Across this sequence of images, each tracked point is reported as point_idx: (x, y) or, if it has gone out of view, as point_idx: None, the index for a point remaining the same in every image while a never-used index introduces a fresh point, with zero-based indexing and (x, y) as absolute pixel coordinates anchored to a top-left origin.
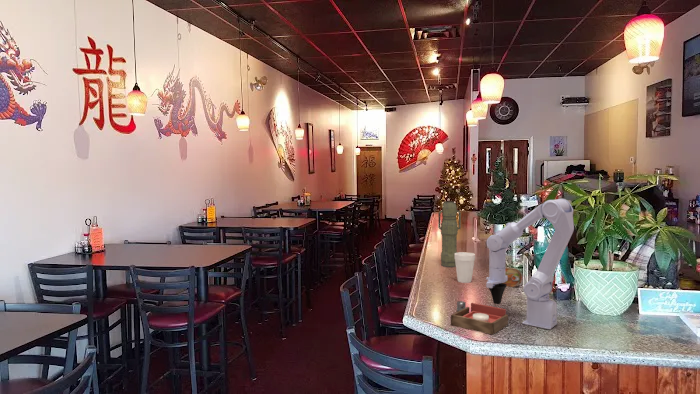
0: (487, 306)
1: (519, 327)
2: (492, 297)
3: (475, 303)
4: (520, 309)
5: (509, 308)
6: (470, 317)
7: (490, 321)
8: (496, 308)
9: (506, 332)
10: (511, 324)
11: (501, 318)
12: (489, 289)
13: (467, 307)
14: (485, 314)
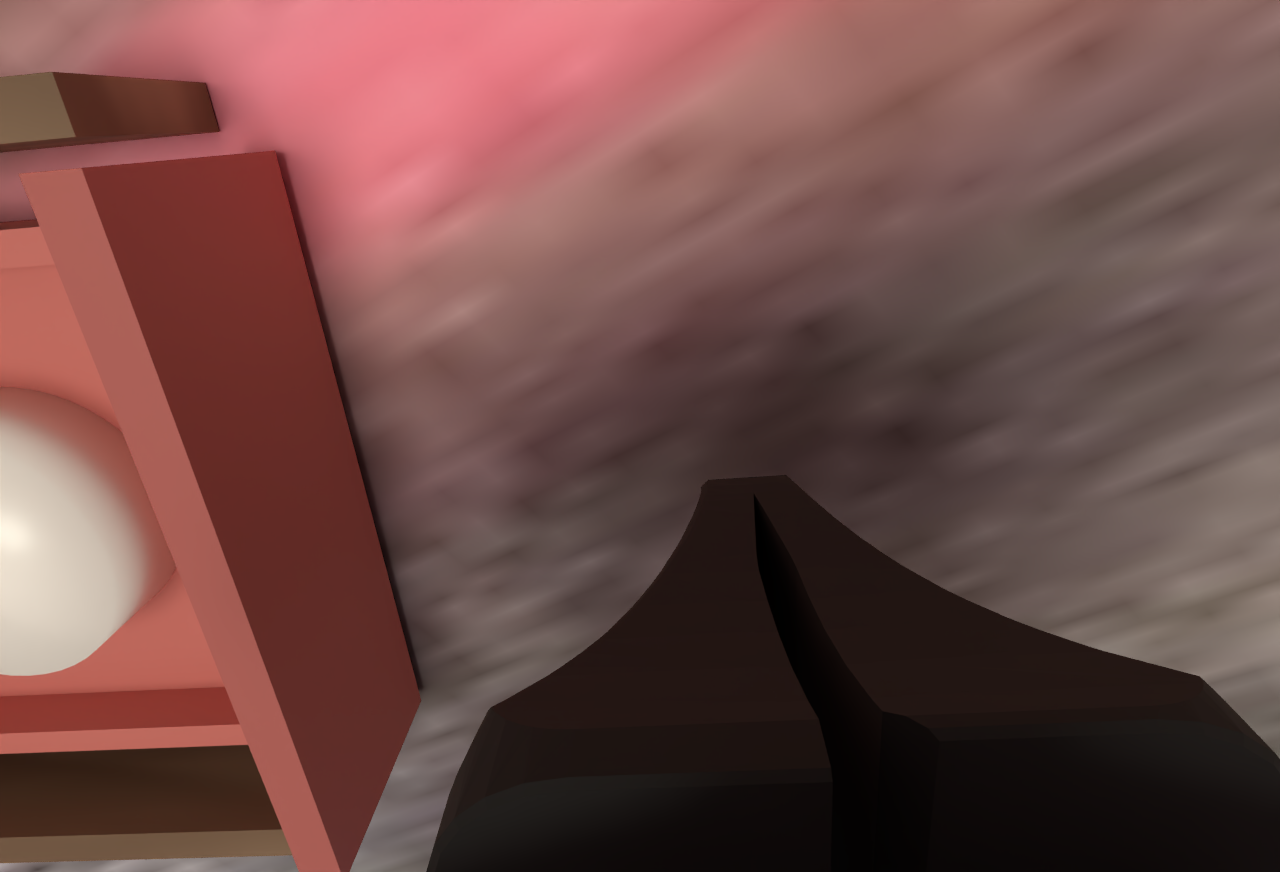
0: (193, 607)
1: (426, 834)
2: (684, 537)
3: (117, 290)
4: (1240, 581)
5: (1215, 433)
6: (28, 285)
7: (179, 611)
8: (261, 758)
9: None
10: (449, 746)
11: (109, 854)
12: (563, 666)
13: (7, 112)
14: (93, 589)
